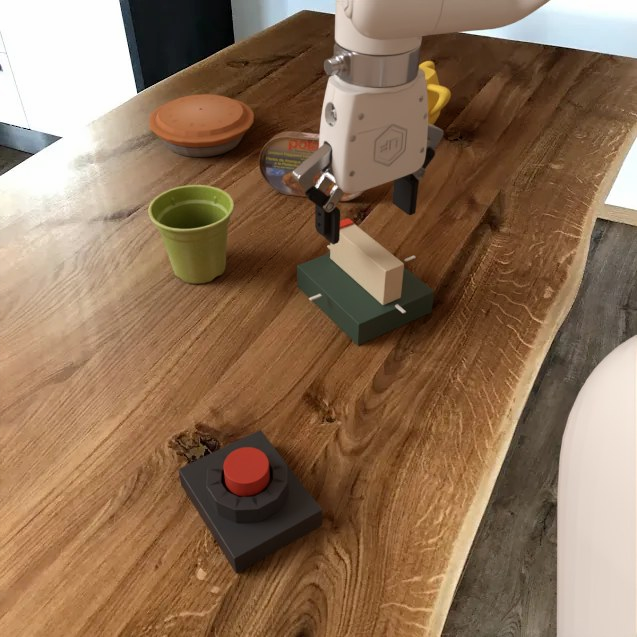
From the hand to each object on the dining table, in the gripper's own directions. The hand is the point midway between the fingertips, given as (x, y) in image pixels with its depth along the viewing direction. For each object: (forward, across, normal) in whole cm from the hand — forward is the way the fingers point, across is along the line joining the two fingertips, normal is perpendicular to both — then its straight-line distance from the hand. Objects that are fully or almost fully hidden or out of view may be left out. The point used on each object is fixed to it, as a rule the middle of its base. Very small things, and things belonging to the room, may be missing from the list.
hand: (366, 222), depth 76 cm
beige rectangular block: (+7, 0, 0) cm, 7 cm away
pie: (+11, +2, +44) cm, 45 cm away
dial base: (+10, 0, 0) cm, 10 cm away
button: (+6, -24, -17) cm, 30 cm away
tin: (+10, +8, +22) cm, 25 cm away
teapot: (+11, +29, +31) cm, 43 cm away
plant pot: (+10, -13, +15) cm, 22 cm away
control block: (+10, -24, -17) cm, 31 cm away
